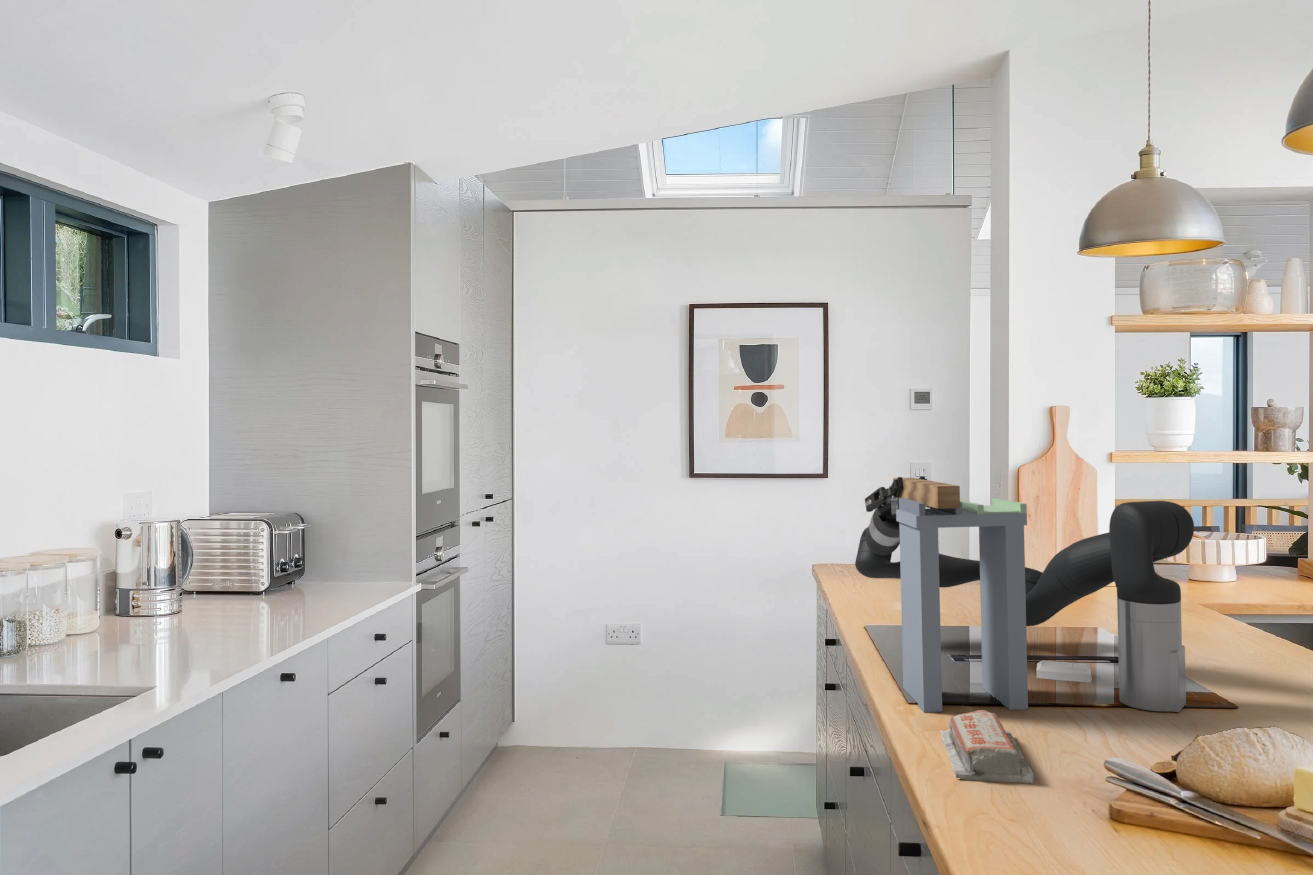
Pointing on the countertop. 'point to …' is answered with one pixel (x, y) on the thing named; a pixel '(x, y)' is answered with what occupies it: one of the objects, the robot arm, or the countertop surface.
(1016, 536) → the bridge
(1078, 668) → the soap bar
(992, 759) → the packaged product
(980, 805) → the countertop surface
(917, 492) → the wooden square beam
